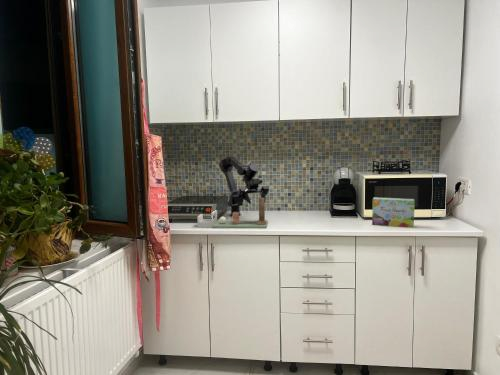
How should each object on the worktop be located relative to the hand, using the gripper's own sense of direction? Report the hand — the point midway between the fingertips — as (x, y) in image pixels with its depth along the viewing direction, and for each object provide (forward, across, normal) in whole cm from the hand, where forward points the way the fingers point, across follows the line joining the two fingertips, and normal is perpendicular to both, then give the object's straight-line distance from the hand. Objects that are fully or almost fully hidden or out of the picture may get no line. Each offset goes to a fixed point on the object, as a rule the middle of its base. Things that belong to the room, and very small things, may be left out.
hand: (257, 202), depth 210 cm
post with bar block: (+9, -6, +7) cm, 13 cm away
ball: (+2, -20, +11) cm, 22 cm away
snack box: (+37, +63, -19) cm, 76 cm away
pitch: (+6, -15, +11) cm, 19 cm away
